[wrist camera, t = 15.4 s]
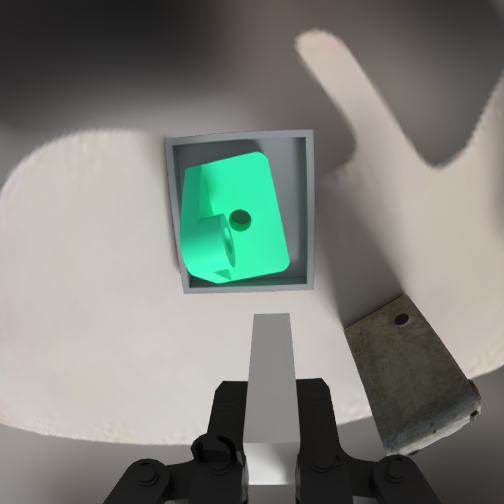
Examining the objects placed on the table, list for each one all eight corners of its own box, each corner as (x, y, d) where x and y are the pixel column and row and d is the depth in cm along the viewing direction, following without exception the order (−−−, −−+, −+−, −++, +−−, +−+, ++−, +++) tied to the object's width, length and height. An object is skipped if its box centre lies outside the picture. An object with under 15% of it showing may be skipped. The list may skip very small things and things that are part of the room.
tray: (308, 130, 30) (312, 129, 27) (310, 279, 35) (313, 289, 33) (171, 139, 30) (164, 139, 28) (188, 283, 36) (183, 293, 34)
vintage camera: (376, 388, 42) (415, 495, 24) (337, 325, 37) (385, 460, 19) (429, 357, 40) (486, 455, 22) (403, 285, 35) (488, 399, 17)
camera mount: (289, 259, 34) (298, 309, 24) (221, 273, 35) (205, 325, 25) (265, 148, 30) (266, 154, 20) (191, 166, 31) (159, 181, 21)
